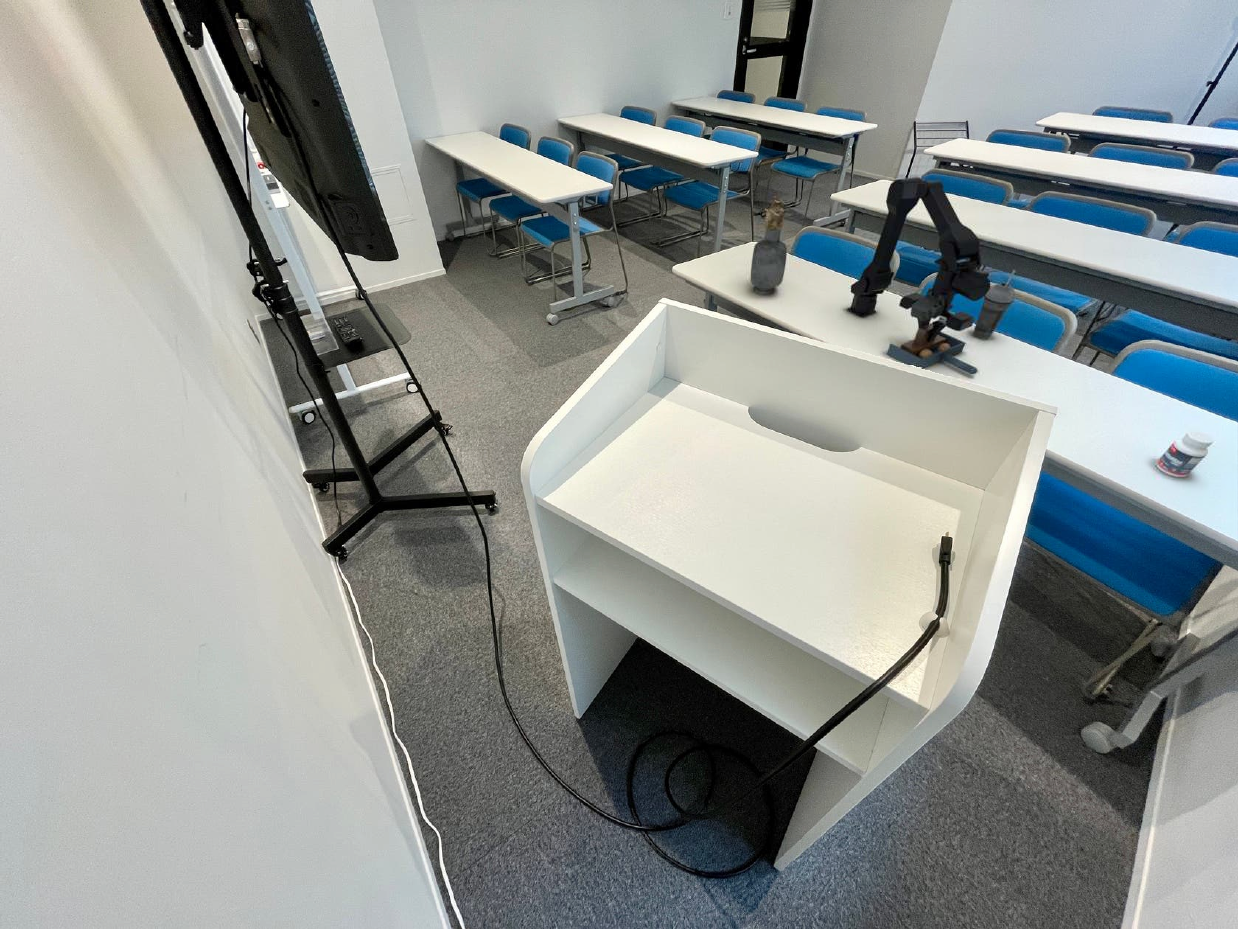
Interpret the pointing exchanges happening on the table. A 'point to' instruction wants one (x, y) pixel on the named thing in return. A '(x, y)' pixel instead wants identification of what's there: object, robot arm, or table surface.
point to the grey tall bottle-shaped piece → (770, 252)
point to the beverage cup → (994, 308)
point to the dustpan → (935, 355)
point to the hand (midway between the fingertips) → (924, 339)
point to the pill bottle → (1185, 454)
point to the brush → (923, 341)
